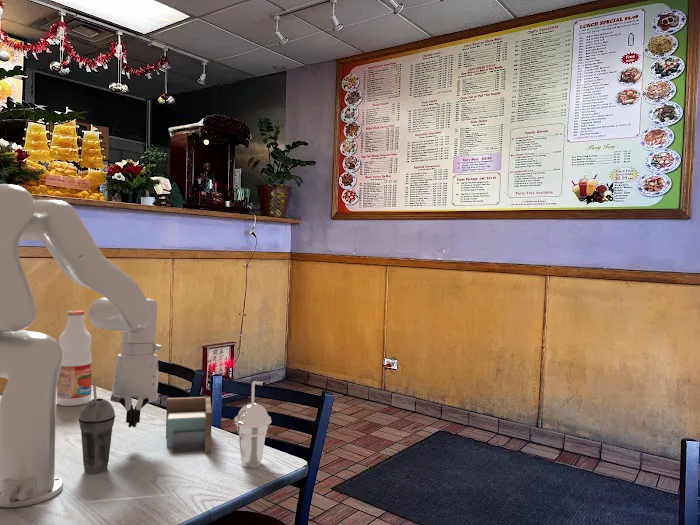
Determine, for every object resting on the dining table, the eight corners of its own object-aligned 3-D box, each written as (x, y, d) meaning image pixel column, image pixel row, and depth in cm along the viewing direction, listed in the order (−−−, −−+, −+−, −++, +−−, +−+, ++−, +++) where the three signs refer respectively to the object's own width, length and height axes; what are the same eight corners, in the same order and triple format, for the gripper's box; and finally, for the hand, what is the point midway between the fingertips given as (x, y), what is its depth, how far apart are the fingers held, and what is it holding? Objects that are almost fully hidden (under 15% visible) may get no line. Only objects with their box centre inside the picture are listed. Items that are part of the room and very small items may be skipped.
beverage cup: (121, 466, 121) (123, 376, 120) (98, 479, 114) (100, 384, 113) (93, 462, 123) (96, 373, 122) (69, 474, 116) (71, 380, 115)
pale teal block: (204, 445, 135) (205, 417, 135) (166, 448, 133) (167, 419, 133) (204, 438, 140) (205, 411, 140) (167, 441, 138) (168, 412, 138)
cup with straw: (269, 456, 130) (272, 372, 129) (270, 472, 121) (273, 382, 120) (233, 457, 128) (235, 372, 128) (231, 473, 119) (233, 382, 119)
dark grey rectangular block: (205, 451, 131) (205, 435, 131) (172, 454, 129) (172, 437, 129) (204, 445, 135) (205, 429, 135) (173, 447, 133) (173, 431, 133)
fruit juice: (61, 398, 171) (63, 309, 170) (94, 397, 173) (96, 309, 172) (52, 407, 161) (54, 312, 161) (87, 406, 164) (89, 313, 163)
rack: (210, 454, 130) (211, 412, 129) (162, 457, 127) (164, 414, 127) (209, 434, 143) (210, 396, 143) (166, 436, 140) (167, 398, 140)
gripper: (171, 347, 138) (166, 421, 137) (106, 346, 134) (101, 422, 133) (169, 352, 130) (164, 429, 130) (101, 350, 126) (96, 430, 126)
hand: (132, 425), depth 131 cm, fingers closed
